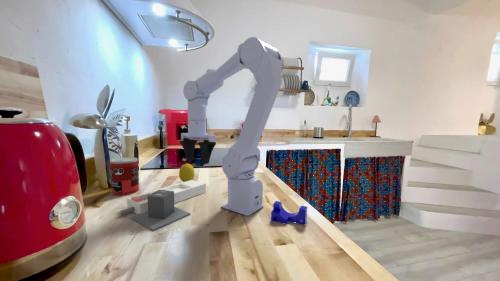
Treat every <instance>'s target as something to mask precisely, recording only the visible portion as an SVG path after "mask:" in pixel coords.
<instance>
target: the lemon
mask: <svg viewBox="0 0 500 281" xmlns="http://www.w3.org/2000/svg"><path fill="white" fill-rule="evenodd" d="M178 174H179V180H180V181H181V182H182V183H183V182H186V181H190V180H194V178H195V174H196V172H195V168H194V166H193V165H192V164H190V163H187V162H186V163H185V164H183V165H181V166H180V168H179V173H178Z"/></svg>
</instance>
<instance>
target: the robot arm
mask: <svg viewBox="0 0 500 281" xmlns="http://www.w3.org/2000/svg"><path fill="white" fill-rule="evenodd" d="M283 62H284V59H283V57H282V54H281V53H280V51H279V50H278V49H277V48H275V47H274V46H271V45H270V44H268V43H266V42H264V41H262V40H260V39H259V38H258V37H256V36H251V37H248V38H246V39H245V41H243V42H242V43H240V44H239V45H238V46H237V51H236V52H234V54H233V55H231V57H229V58H228V59H227V60H226V61H225V62H224V63H222V64H221V66H219V67H218V68H217V69H214V68H211V69H210V68H208V69H206V72H204V74H202V75H201V76H200V77H198V78H196V80H188V81H187V82H186V83H185V84H184V85H183V96H184V98H185V99H186V100H187V132H181V133H180V138H181V140H179V144H180V145H181V146H182V148H183V151H184V154H185V155H184V156H185V158H186V161H187V162H191V161H194V159H195V147H196V144H197V143H198V146H199V148H200V153H201V162H202V165H208V164H209V163H210V159H211V155H212V152H213V150H214V148H215V147H216V145H217V142H216V135H215V134H214V135H213V134H209V133H207V106H208V102H209V101H208V100H209V98H210V96H211V95H212V94H213V93H214V92H216V91H217V90H220V89H221V88H222V87H223V85H224V83H225V82H224V81H225V80H227V79H229V78H230V77H232V76H234V75H235V74H237V73H239V72H241V71H242V70H244V69H245V70H247V69H248V70H249V71H250V73H252V74H253V77H254V79H255V81H256V84H257V85H256V88H255V90H254V92H253V96H252V99H251V101H250V105H249V107H248V110H247V112H246V115H245V118H244V122H243V125H242V127H241V130H240V134H239V136H238V138H237V140H236V141H235V143H233V144H232V145H231V146H230V147H229V148H228V150H227V151H228V152H227V153H226V154H225V155H224V156H223V158H222V161H221V169H222V171H223V173H224V175H225V177H226V178H227V202H225V203H223V204H221V205H220V208H224V209H225V210H229V211H232V212H235V213H237V214H239V215H243V216H246V217H248V216H250V215H252V214H253V213H255V212H257V211H259V210H260V209H262V208H264V205H265V204H263V193H264V192H263V190H264V189H263V188H264V187H263V186H264V185H263V182H262V181H261V180H260V179H258V178H256V177H255V176H254V175H255V172H256V170H257V169H258V167H259V164H260V160H259V156H260V154H261V151H260V149H259V147H258V146H259V143H260V140H261V138H262V135H263V132H264V130H265V128H266V125H267V122H268V120H269V117H270V115H271V112H272V109H273V106H274V104H275V101H276V99H277V97H278V93H279V91H280V88H281V86H282V82H283V81H282V79H283V78H282V64H283ZM197 141H198V142H197Z"/></svg>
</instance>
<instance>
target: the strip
mask: <svg viewBox="0 0 500 281" xmlns="http://www.w3.org/2000/svg"><path fill="white" fill-rule="evenodd" d="M158 190H165V191H174V205H175V204H177V203H180V202H183V201H185V200H189V199H190V198H191V199H192V198H193V197H197V196H199V195H202V194H204V193H206V192H207V183H204V182H201V181H197V180H194V179H193V180H190V181H186V182H183V181H182V182H179V183H177V184H173V185H169V186H165V187H161V188H158V189H154V190H150V191H147V192H143V193H140V194H137V195H133V196H129V197H126V206H127V207H126V208H125V209H121V210H120V211H119V213H120V215H121V216H124V215H126V214H130V213H132V212H133V213H135V215H137V214H143V213H145V212H148V195H150V194H152V193H154V192H156V191H158Z"/></svg>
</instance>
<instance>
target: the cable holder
mask: <svg viewBox="0 0 500 281" xmlns="http://www.w3.org/2000/svg"><path fill="white" fill-rule="evenodd" d="M272 208H273V209H272V210H271V211H270V221H271V222H274V221H275V223H279V222H280V223H279V224H283V223H285V224H284V225H288V223H293V222H296V223H295V224H297V223H300V224H299V225H302V224H307V223H308V206H305V205H300V206H299V208H298V211H297V212H295V213H292V212H289V211H287V210H285V208H284V207H283V204H282V201H279V200H275V201H274V202H273V205H272ZM288 221H290V222H288Z"/></svg>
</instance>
